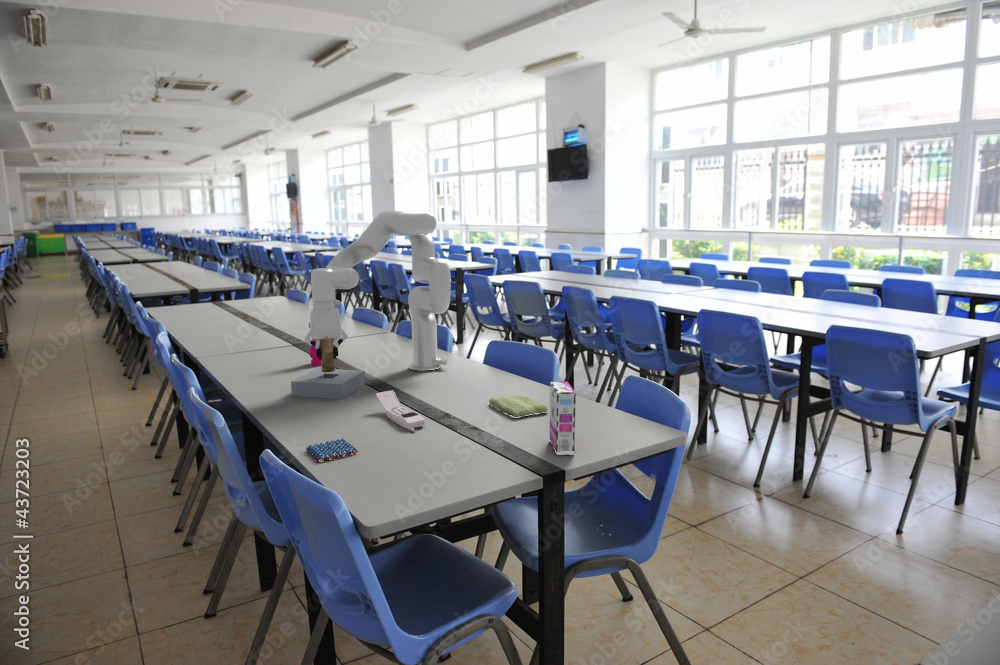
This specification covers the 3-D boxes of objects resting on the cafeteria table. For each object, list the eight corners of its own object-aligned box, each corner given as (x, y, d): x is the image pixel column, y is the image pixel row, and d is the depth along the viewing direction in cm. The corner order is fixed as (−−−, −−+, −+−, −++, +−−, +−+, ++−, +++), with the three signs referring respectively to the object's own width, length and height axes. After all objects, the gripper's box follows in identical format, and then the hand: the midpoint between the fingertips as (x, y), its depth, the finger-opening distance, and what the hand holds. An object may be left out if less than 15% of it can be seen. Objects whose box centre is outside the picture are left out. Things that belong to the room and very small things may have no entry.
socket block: (365, 384, 231) (364, 370, 230) (341, 399, 214) (340, 384, 213) (318, 381, 235) (317, 368, 234) (291, 396, 218) (290, 381, 217)
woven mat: (359, 456, 166) (359, 448, 166) (319, 465, 161) (318, 457, 160) (344, 444, 175) (344, 436, 174) (305, 452, 169) (304, 445, 169)
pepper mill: (323, 366, 258) (320, 316, 254) (306, 365, 259) (303, 315, 255) (331, 362, 265) (328, 313, 261) (315, 361, 266) (312, 312, 262)
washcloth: (521, 400, 213) (521, 390, 212) (550, 415, 197) (550, 404, 197) (485, 405, 207) (485, 396, 206) (512, 421, 191) (512, 411, 191)
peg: (337, 369, 225) (335, 329, 222) (331, 372, 221) (328, 331, 218) (325, 368, 226) (323, 329, 223) (319, 372, 222) (316, 331, 219)
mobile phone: (392, 389, 204) (429, 409, 183) (393, 407, 205) (429, 429, 184) (374, 393, 201) (409, 413, 180) (375, 411, 202) (410, 434, 181)
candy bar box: (575, 455, 164) (576, 392, 161) (555, 456, 164) (556, 393, 161) (567, 440, 175) (568, 380, 172) (548, 440, 175) (549, 381, 171)
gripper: (349, 302, 225) (352, 354, 228) (298, 305, 220) (301, 358, 223) (351, 305, 218) (353, 359, 221) (298, 308, 213) (301, 363, 216)
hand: (327, 358), depth 222 cm, fingers closed on peg, 4 cm apart
